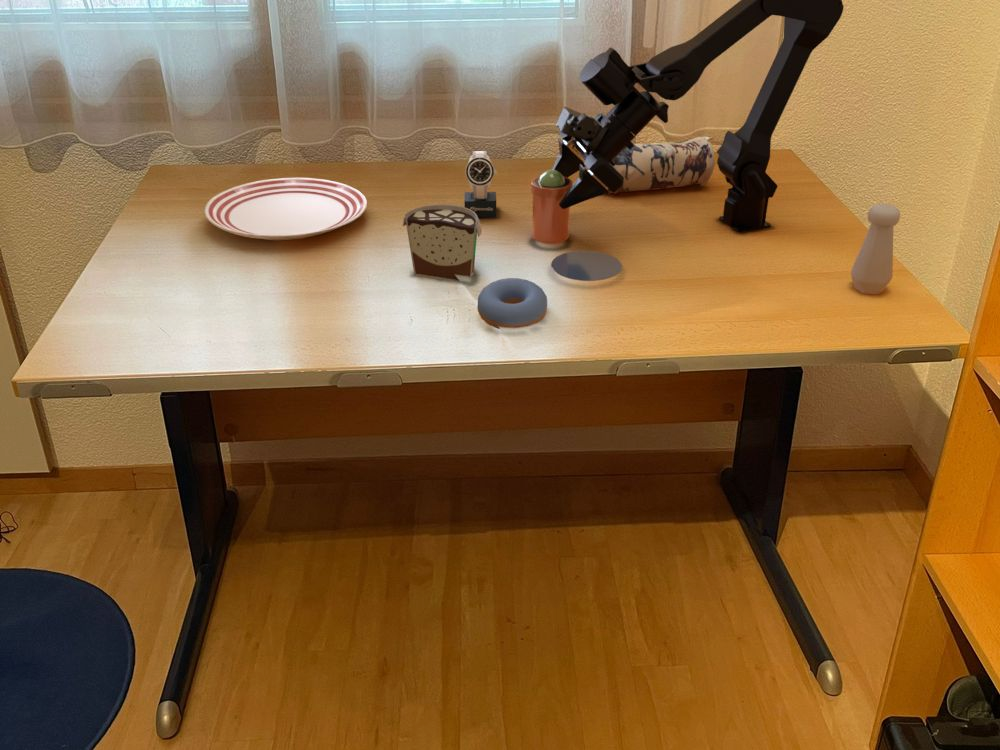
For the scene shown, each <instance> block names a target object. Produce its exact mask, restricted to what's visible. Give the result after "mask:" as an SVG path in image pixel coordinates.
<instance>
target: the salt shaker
mask: <svg viewBox="0 0 1000 750" xmlns="http://www.w3.org/2000/svg"><path fill="white" fill-rule="evenodd" d="M900 218H901V211H900V209H899V208H898V207H897V206H895V205H892V204H889V203H876V204H874V205H872V206H871V207H870V208H869V209H868V212H867V220H868V222H869V223H870V226H869V228H868V230H867V232H866V234H865V237H864V239H863V242H862V244H861V247H860V249H859V251H858V253H857V256H856V258H855V261H854V262H853V265H852V268H851V270H850V275H851V280H852V283H853V286H854V287H853V288H854V290H857V291H858V292H860V293H862V294H865V295H866V294H867V295H878V294H881V292H883V291H884V290H885V289H886V288H887V286H889V284H890V282H891V281H892V279H893V272H894V271H893V267H894V265H893V264H894V227H895V226H896V225H897V224H898V223H899V222H900Z"/></svg>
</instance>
